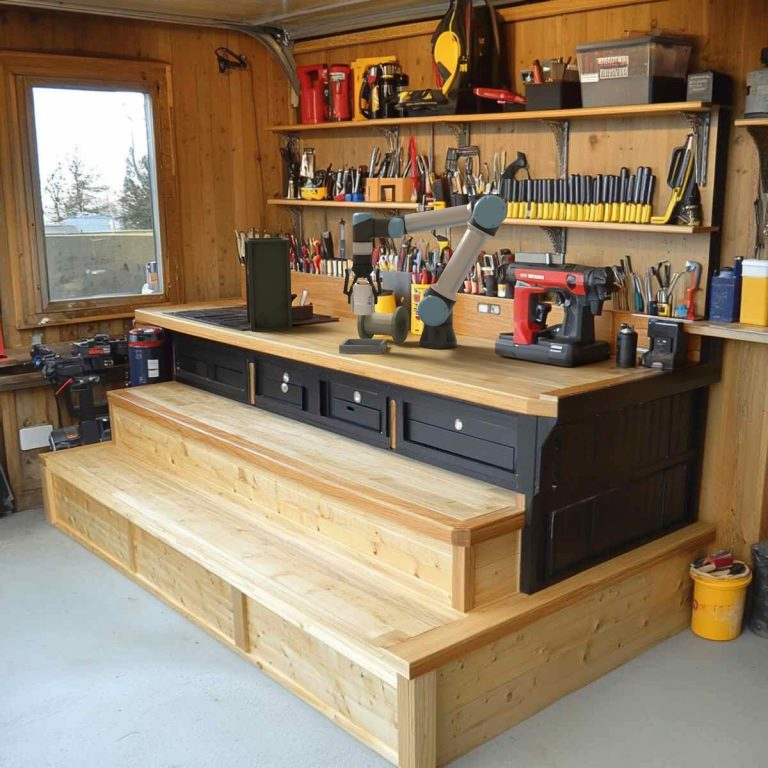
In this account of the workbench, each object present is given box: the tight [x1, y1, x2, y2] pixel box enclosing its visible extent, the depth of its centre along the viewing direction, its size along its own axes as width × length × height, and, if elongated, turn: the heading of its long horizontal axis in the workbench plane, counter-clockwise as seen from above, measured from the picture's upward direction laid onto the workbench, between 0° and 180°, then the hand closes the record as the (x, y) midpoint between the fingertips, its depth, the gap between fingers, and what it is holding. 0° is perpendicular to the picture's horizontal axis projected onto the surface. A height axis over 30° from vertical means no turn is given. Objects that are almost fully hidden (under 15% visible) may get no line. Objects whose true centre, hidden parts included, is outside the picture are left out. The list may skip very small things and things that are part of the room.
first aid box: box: [243, 237, 293, 331], centre depth 411 cm, size 18×18×40 cm
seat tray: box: [338, 338, 388, 355], centre depth 357 cm, size 16×16×3 cm
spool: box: [356, 305, 410, 345], centre depth 374 cm, size 16×15×15 cm
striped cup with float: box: [349, 281, 375, 316], centre depth 353 cm, size 10×8×12 cm
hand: (362, 312), depth 354 cm, fingers closed on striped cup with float, 8 cm apart
